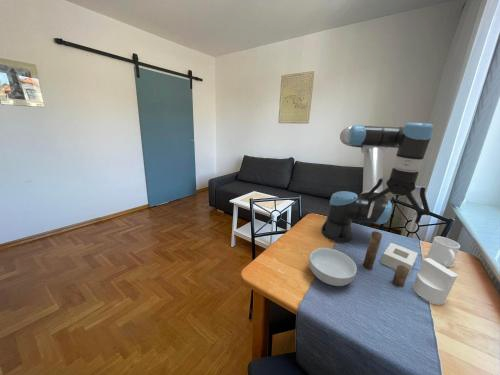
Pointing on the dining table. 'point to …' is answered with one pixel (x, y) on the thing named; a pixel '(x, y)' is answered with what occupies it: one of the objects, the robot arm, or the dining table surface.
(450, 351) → the dining table surface
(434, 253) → the mug
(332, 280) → the cereal bowl
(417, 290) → the base with upright slab
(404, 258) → the hole block
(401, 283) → the short dowel
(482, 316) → the dining table surface
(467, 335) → the dining table surface
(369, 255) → the long dowel
